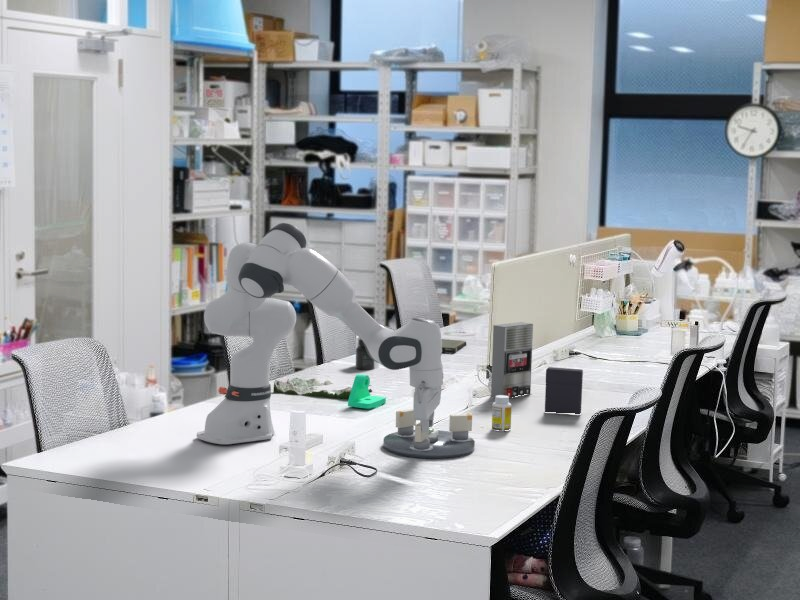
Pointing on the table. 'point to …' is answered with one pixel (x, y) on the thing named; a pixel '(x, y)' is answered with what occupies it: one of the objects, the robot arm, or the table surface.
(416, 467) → the table surface
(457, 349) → the network switch
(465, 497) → the table surface
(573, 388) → the calculator
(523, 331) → the cassette tape recorder
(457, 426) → the knob right
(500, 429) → the supplement bottle
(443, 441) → the tribrach disc
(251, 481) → the table surface
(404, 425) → the cream block orange corner
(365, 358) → the supplement bottle
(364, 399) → the camera mount
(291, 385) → the topographic map model
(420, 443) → the knob left
